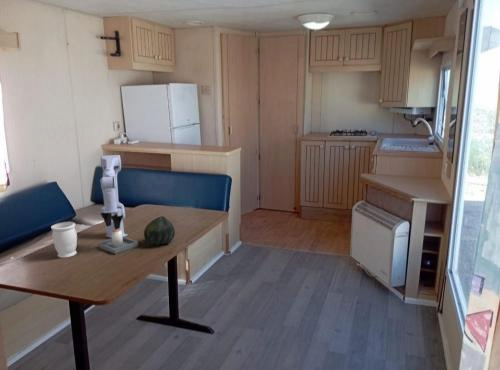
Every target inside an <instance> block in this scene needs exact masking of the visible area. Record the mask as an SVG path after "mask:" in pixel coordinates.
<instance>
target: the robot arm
mask: <svg viewBox="0 0 500 370" xmlns="http://www.w3.org/2000/svg"><path fill="white" fill-rule="evenodd" d="M121 159H122V158H121V155H119V154H113V155H101V156H100V164H101V165H100V166H101V168H102V178H100V187H101V192H102V196H103V197H102V198H103V204H104V206H103V207H101V212H100V216H101V217H102V219H103V221H104V223H105V229H106V234H105V237H107V238H109V239H112V235H111V231H112V230H115V229H121V230H122V236H124V237H127V236H129V235H128V233H125V230H124V229H125V228H124V220H125V219H126V209H125V206H124V204H123V203H121V202H120V201H119V187H118V174H119V172H121V170H122V161H121Z"/></svg>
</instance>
